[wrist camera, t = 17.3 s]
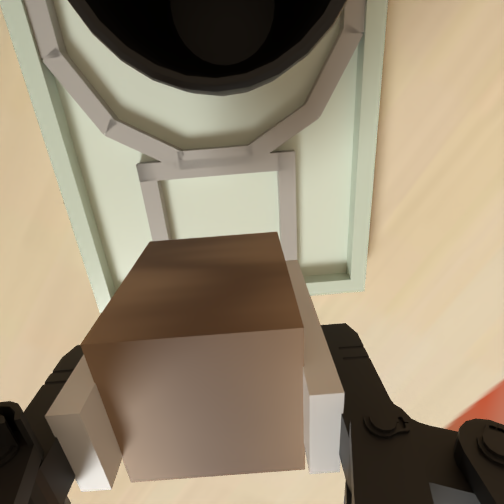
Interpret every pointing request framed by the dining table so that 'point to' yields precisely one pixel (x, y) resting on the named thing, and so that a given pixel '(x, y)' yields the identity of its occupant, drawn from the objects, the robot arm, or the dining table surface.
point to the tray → (208, 147)
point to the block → (203, 360)
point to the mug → (210, 38)
